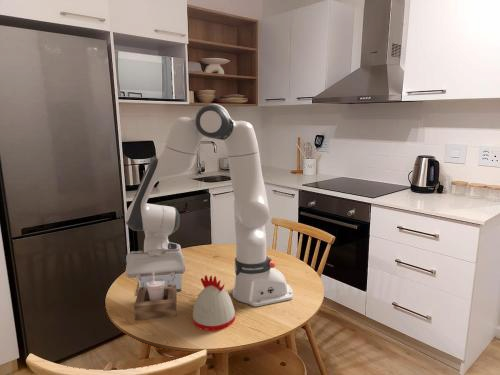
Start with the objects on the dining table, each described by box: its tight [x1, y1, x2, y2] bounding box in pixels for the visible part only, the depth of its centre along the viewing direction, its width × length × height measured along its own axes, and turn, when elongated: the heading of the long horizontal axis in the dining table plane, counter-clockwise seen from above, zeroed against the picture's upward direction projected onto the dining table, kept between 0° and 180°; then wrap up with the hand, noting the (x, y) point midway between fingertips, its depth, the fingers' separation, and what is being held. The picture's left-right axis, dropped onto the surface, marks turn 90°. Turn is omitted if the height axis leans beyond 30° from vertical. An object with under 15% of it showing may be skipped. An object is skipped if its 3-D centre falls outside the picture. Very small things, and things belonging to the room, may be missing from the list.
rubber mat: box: [136, 274, 183, 295], centre depth 144 cm, size 16×13×1 cm
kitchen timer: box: [192, 275, 236, 332], centre depth 119 cm, size 14×14×15 cm
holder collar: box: [133, 285, 178, 321], centre depth 127 cm, size 13×13×5 cm
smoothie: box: [146, 270, 165, 301], centre depth 126 cm, size 6×6×14 cm
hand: (155, 287), depth 125 cm, fingers open, 8 cm apart
